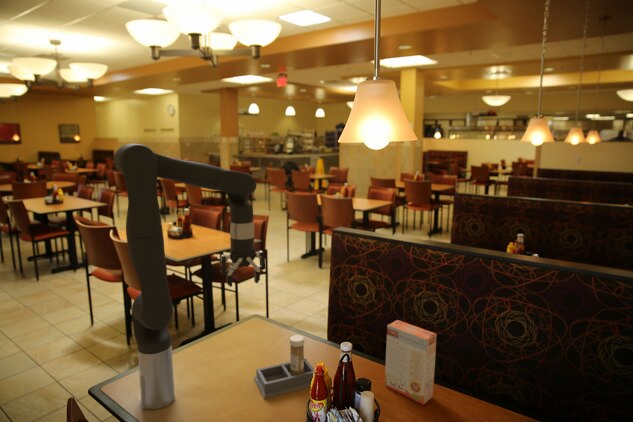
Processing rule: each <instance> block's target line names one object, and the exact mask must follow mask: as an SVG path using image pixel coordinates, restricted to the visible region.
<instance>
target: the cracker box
mask: <svg viewBox="0 0 633 422" xmlns="http://www.w3.org/2000/svg"><path fill="white" fill-rule="evenodd" d="M386 327H387V329H386V347H385V348H386V349H385V372H384V373H385V374H384V386H385V387H387V388H389V389H390V390H393V391H394V392H396V393H398V394H400V395H403V396H405V397H407V398H408V399H410V400H411V401H412V400H413V401H415V402H417V403H418V404H421V405H423V406H424V405H425V404H426V403H428V402H429V401H430V400H431V399H433V397H434V387H435V385H434V384H435V366H436V352H437V351H436V349H437V336H438V335H437V333H435V332H433V331H429V330H427V329H424V328H421V327H418V326H416V325H413V324H409V323H407V322H405V321H402V320H399V319H396V320H394V321H393V322H391V323H389V324H387V325H386Z"/></svg>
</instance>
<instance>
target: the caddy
mask: <svg viewBox="0 0 633 422" xmlns="http://www.w3.org/2000/svg"><path fill="white" fill-rule="evenodd" d="M314 370H315V369H314V367H313V366H312V365H311V363H310V362H309V361H308V359H307V358H305V357H304V373H303V374H299V375H294V376H291V367H290V361H288V362H287V361H286V362H283V363H278V364H275V365H270V366H265V367H261V368H256V372H255V373H256V374H255V376H253V379H254V382H255V384H256V386H257V387H258V390H259V391H260V394H261V395H262V397H263V399H264V400H265V399H268V398H269V399H270V398H274V397H279V396H282V395H284V394H288V393H293V392H297V391H301V390H304V389H309V388H311V387H310V385H311V381H312V378H313V372H314Z"/></svg>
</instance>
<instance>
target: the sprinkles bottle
mask: <svg viewBox="0 0 633 422" xmlns="http://www.w3.org/2000/svg"><path fill="white" fill-rule="evenodd" d="M304 345H305V337H304V336H302V335H300V334H294V335H292V336H290V337H289V346H290V353H289V356H290V359H289V362H290V367H291V376H294V375H299V374H303V373H304V359H305V351H304V350H305V349H304Z"/></svg>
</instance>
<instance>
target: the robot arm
mask: <svg viewBox="0 0 633 422" xmlns="http://www.w3.org/2000/svg"><path fill="white" fill-rule="evenodd" d="M113 162H114V165H115V168H116V169H117V171H118V172H119V173H120V174H121V175H123V178H124V183H125V188H126V192H127V202H128V205H127V213H126V219H125V235H126V237H125V238H126V242H127V243H126V244H127V250H128V254H129V255H128V256H129V258H130V261H131V264H132V267H133V269H134V272H135V274H136V277H137V279H138V282H139V287H140V293H139V294H138V295H137V296H136V297H135V299H134V301H133V303H132V306H131V317H132V318H131V319H132V328H133V336H134V339H135V341H136V345H137V346H136V347H137V348H136V349H137V357H138V358H137V359H138V372H139V387H140V397H141V398H140V400H141V410H158V409H162V408H165V407H167V406H168V405H170V404H171V403H172V402H173V401H174V399H175V395H176V394H175V392H176V391H175V378H174V362H173V361H174V360H173V346H172V344H173V343H172V335H171V333H170V331H169V329H168V327H167V326H168V325H169V324H170V322H171V320H172V319H173V315H174V304H173V300H172V296H171V291H170V288H169V287H170V286H169V282H168V276H167V262H166V252H165V240H164V232H163V231H164V228H163V226H162V218H161V217H162V215H161V210H160V204H159V199H158V197H159V196H158V179H165V180H170V181H174V182H178V183H181V184H185V185H189V186H192V187H197V188H201V189H207V190H212V191H221V192H226V195H227V201H228V203H229V208H230V210H229V212H230V213H229V214H230V228H229V236H230V237H229V238H230V239H229V241H230V254H221V255H220V260H219V261H220V262H219V265H220V266H219V271H220V273H221V275H224V276H226V277H225V279H226V284H227V285H228V287H229V288H231V287H233V275H232V274H233V273H234V271H236V269H237V268H243V267H249V266H251V267H252V268H253V269H254V271H253V279H254V280H253V281H254V283H255V284H259V282H260V279H261V271H263V270H266V267H267V266H266V258H265V257H266V256H265V254H266V253H265V252H264V251H263V250H262V249H260V250H258V251H256V250H255V245H256V244H255V224H254V210H253V205H252V204H251V202H249V197H248V196H250V195H252V194H253V193H255V191H256V190H257V181H256V179H255V177H254V176H253V175H252V174H250V173H247V172H241V171H236V170H231V169H226V168H222V167H219V166H216V165H212V164H208V163H202V162H198V161H191V160H190V161H189V160H185V159H178V158H174V157H169V156H167V155H163V154H159V153H156V152H155V151H153V150H152V149H151V147H148V146H147V145H144V144H140V143H127V144H124V145H122V146H120V147H119V148H118V149H117V150H116V152H115V153H114V157H113ZM256 257H257V258H258V259H259V265H257V264H256V263H255V262H254V260H255V258H256ZM229 260H231V262H230V264H229V266H228V268H227V269H226V266H227V262H228V261H229Z"/></svg>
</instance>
